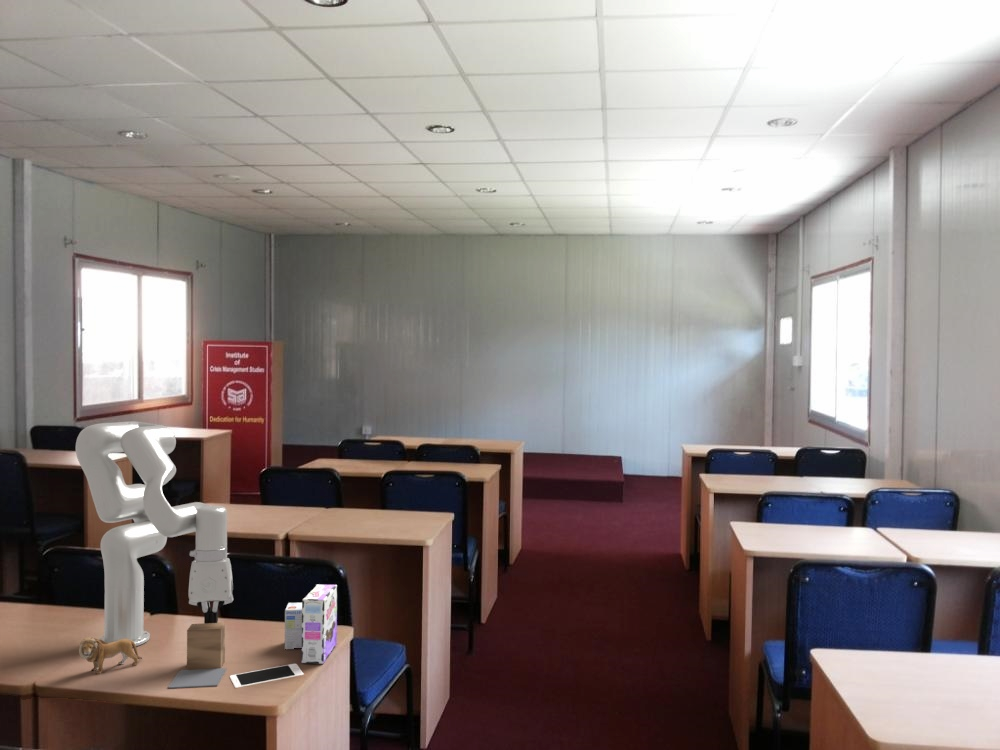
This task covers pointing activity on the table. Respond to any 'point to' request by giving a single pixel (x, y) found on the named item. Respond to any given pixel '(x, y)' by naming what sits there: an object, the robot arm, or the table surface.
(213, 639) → the tan wooden block
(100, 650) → the lion figurine
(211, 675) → the mat
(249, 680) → the cell phone
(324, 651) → the candy box
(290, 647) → the light bulb box
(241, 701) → the table surface
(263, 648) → the table surface
